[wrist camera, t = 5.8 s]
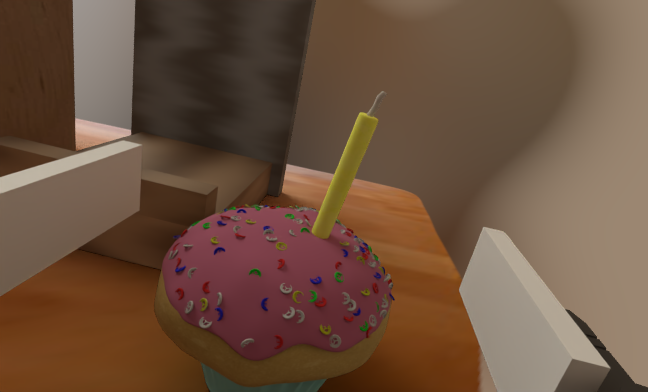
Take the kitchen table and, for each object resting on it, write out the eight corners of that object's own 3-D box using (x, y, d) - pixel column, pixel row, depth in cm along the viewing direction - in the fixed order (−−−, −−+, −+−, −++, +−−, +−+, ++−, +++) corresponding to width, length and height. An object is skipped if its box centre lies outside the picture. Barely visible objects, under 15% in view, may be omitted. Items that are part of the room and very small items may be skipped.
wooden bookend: (-25, 222, 21) (-91, -319, 14) (139, 157, 36) (150, -119, 29) (215, 283, 21) (282, -250, 13) (281, 191, 36) (330, -82, 28)
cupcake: (362, 329, 20) (432, 96, 16) (360, 510, 12) (501, 130, 8) (202, 290, 20) (229, 50, 16) (93, 442, 12) (91, 38, 8)
